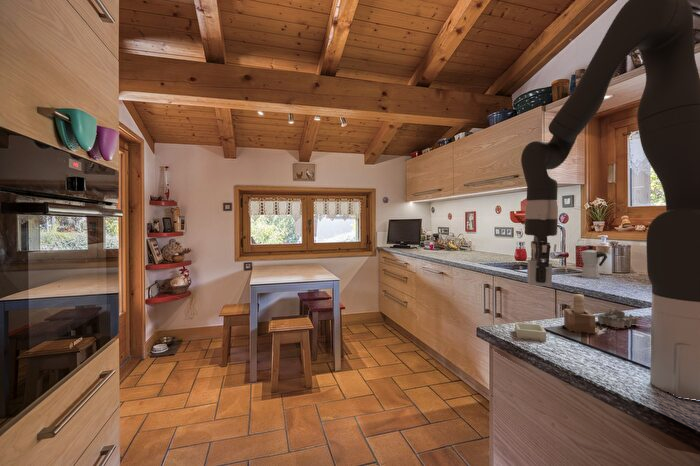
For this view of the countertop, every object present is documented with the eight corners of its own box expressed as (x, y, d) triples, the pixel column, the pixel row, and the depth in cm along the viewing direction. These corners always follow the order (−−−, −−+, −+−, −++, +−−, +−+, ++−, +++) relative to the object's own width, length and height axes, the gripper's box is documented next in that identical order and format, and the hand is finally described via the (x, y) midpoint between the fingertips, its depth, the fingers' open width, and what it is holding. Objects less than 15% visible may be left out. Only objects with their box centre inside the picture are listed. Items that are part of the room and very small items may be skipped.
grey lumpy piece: (616, 319, 102) (616, 307, 102) (644, 327, 95) (644, 313, 95) (592, 323, 99) (592, 309, 99) (619, 330, 91) (619, 316, 91)
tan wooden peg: (584, 331, 91) (585, 296, 90) (574, 330, 91) (574, 295, 91) (582, 328, 93) (582, 294, 92) (572, 327, 94) (572, 293, 93)
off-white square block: (551, 286, 83) (552, 263, 83) (529, 284, 85) (530, 262, 84) (547, 282, 87) (548, 260, 87) (527, 281, 89) (527, 259, 89)
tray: (546, 341, 83) (546, 332, 83) (517, 338, 85) (517, 329, 85) (541, 333, 89) (541, 324, 89) (514, 330, 91) (515, 322, 91)
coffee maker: (573, 275, 185) (574, 245, 184) (584, 275, 188) (585, 244, 187) (600, 280, 171) (601, 246, 170) (612, 279, 173) (612, 246, 173)
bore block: (595, 333, 88) (595, 316, 88) (569, 331, 90) (569, 313, 90) (588, 327, 94) (588, 310, 94) (564, 325, 96) (564, 308, 96)
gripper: (521, 217, 93) (520, 275, 94) (528, 217, 80) (526, 284, 81) (551, 217, 90) (549, 277, 91) (563, 217, 77) (561, 287, 78)
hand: (538, 280), depth 86 cm, fingers closed on off-white square block, 5 cm apart
